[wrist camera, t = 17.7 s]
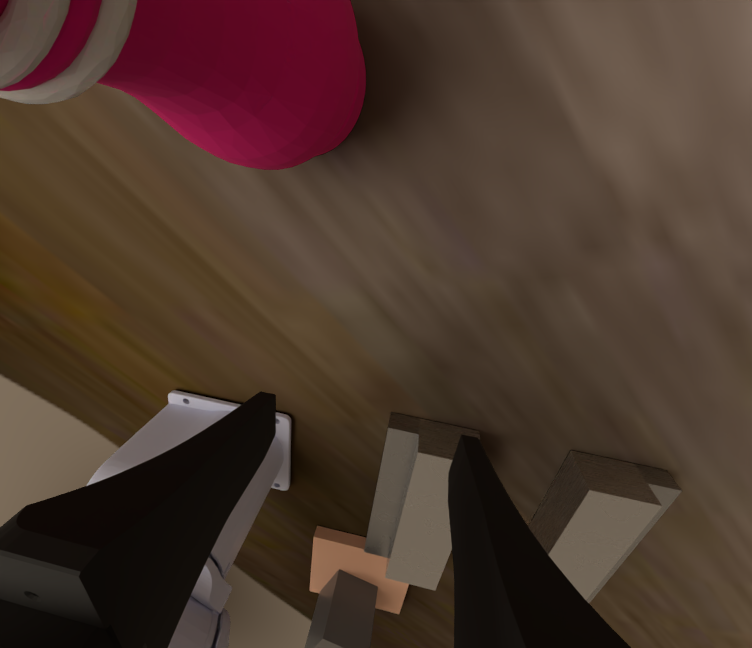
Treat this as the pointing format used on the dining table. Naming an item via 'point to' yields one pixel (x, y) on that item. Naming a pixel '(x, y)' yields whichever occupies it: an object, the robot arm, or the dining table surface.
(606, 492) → the parallel gray bars
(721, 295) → the dining table surface
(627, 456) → the dining table surface
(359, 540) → the pad
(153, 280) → the dining table surface
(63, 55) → the pepper mill
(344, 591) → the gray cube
